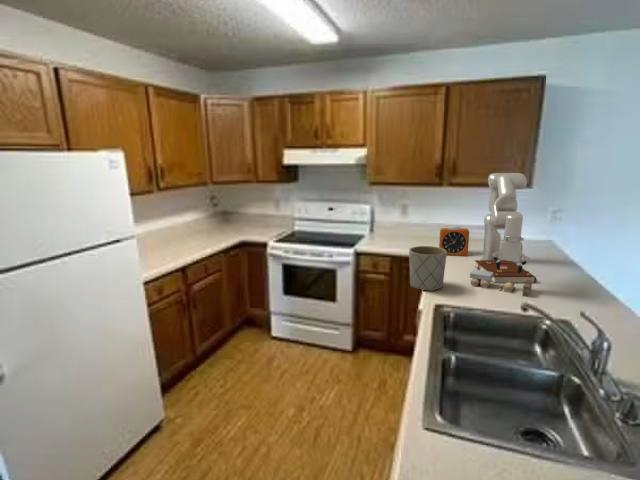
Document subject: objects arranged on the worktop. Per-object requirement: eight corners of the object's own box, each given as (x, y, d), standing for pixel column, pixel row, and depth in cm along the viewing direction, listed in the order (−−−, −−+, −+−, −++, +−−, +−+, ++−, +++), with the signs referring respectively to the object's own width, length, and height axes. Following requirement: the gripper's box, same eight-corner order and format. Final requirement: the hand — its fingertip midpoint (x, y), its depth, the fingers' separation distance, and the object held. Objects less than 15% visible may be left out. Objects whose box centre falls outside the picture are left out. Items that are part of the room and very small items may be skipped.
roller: (504, 285, 201) (507, 279, 199) (512, 289, 199) (515, 282, 197) (501, 290, 194) (505, 283, 193) (509, 293, 193) (513, 287, 191)
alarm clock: (439, 255, 262) (440, 226, 258) (438, 252, 271) (440, 224, 266) (467, 256, 258) (469, 227, 253) (466, 253, 266) (468, 224, 262)
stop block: (526, 288, 197) (526, 279, 196) (531, 289, 196) (532, 280, 195) (522, 295, 188) (523, 286, 186) (527, 296, 186) (528, 287, 185)
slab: (473, 273, 209) (474, 269, 209) (493, 276, 203) (493, 272, 203) (469, 277, 203) (470, 273, 202) (489, 281, 197) (490, 276, 197)
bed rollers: (474, 281, 210) (474, 274, 209) (515, 287, 198) (516, 280, 198) (470, 285, 203) (470, 278, 202) (512, 293, 191) (513, 285, 190)
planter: (417, 278, 217) (418, 244, 213) (450, 284, 206) (452, 249, 201) (401, 287, 203) (402, 251, 199) (436, 295, 191) (437, 257, 187)
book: (492, 283, 207) (493, 275, 205) (473, 266, 237) (474, 259, 236) (536, 283, 205) (537, 275, 204) (511, 266, 236) (511, 258, 235)
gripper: (532, 239, 189) (528, 271, 193) (495, 235, 199) (492, 266, 203) (530, 242, 183) (526, 276, 187) (491, 238, 193) (489, 270, 197)
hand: (508, 271), depth 195 cm, fingers open, 9 cm apart
